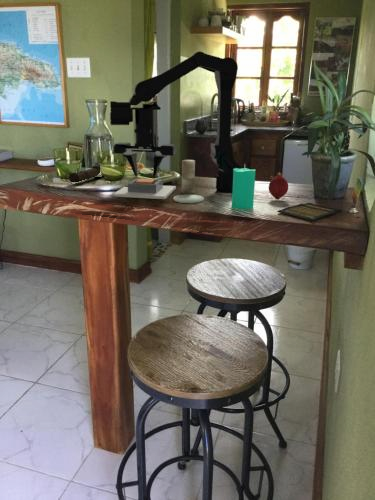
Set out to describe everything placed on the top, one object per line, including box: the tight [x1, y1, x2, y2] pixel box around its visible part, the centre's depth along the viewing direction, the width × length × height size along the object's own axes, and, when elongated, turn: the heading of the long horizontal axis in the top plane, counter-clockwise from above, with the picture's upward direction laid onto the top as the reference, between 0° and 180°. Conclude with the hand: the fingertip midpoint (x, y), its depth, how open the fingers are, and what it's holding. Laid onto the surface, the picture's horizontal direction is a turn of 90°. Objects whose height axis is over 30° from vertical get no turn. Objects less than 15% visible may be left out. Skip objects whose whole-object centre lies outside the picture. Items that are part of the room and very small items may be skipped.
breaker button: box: [136, 178, 156, 184], centre depth 141 cm, size 5×5×1 cm
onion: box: [268, 172, 289, 200], centre depth 134 cm, size 6×6×8 cm
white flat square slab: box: [112, 177, 177, 200], centre depth 141 cm, size 16×16×3 cm
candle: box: [231, 164, 257, 210], centre depth 124 cm, size 6×6×12 cm
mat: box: [173, 194, 205, 204], centre depth 133 cm, size 9×9×1 cm
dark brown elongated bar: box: [68, 164, 100, 182], centre depth 157 cm, size 19×4×5 cm, turn 154°
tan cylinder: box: [181, 159, 196, 195], centre depth 141 cm, size 4×4×10 cm
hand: (145, 177), depth 140 cm, fingers open, 6 cm apart
